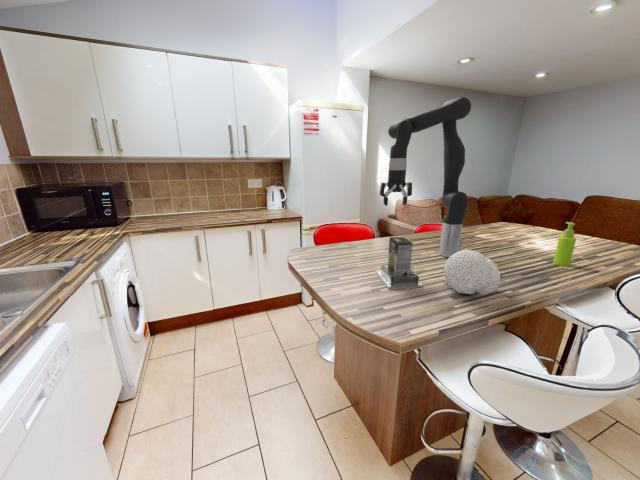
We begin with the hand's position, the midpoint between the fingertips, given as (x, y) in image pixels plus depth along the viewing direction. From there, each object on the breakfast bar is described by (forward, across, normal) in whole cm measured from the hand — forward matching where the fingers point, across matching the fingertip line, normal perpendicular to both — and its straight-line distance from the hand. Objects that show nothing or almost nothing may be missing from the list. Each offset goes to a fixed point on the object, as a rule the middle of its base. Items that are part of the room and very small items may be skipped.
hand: (394, 205), depth 125 cm
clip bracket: (+28, +4, +20) cm, 35 cm away
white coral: (+28, -19, +32) cm, 47 cm away
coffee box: (+27, +4, +20) cm, 34 cm away
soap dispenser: (+28, -80, +10) cm, 85 cm away
